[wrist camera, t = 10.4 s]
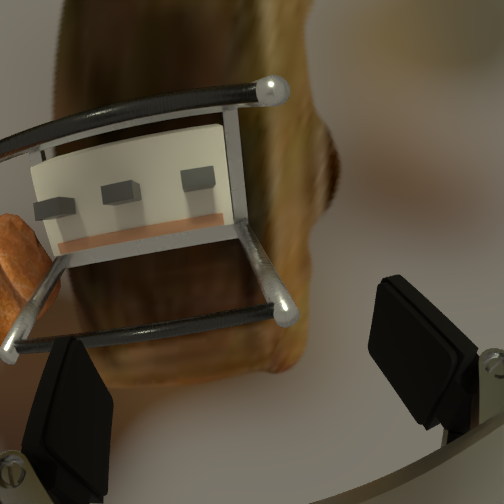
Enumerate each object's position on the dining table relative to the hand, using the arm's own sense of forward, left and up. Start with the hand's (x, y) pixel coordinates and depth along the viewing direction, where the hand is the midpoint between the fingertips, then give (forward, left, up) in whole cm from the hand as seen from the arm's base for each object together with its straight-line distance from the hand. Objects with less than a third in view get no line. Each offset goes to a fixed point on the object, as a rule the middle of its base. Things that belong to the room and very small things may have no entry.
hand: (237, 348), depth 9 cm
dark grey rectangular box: (0, -7, -23) cm, 24 cm away
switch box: (0, -7, -30) cm, 30 cm away
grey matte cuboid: (0, 0, -23) cm, 23 cm away
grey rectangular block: (0, -14, -23) cm, 27 cm away
